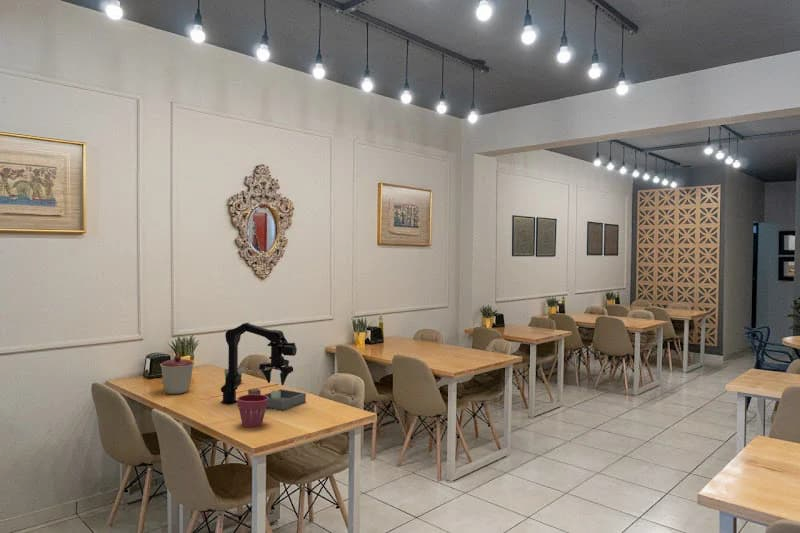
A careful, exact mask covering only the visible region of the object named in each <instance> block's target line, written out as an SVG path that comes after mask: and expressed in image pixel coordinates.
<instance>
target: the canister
mask: <svg viewBox="0 0 800 533" xmlns="http://www.w3.org/2000/svg"><path fill="white" fill-rule="evenodd" d="M181 358H182V357H181V356H180V355H176V356H174V359H169V360H165V361H163V362H162V363H160V364H159V366H160V367H161V374H162V385H163V390H164V392H165V393H166V394H169V395H179V394H180V395H181V394H185V393H187V392H188V391H189V390H190V388H191V382H192V377H193V376H192V374H193V368H194V365H195V362H194V361H192V360H190V359H185V358H184V359H183V358H182V359H181Z"/></svg>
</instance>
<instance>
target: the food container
mask: <svg viewBox="0 0 800 533" xmlns="http://www.w3.org/2000/svg"><path fill="white" fill-rule="evenodd" d="M243 371H244V369H243V367H242V366H241V365H240V366H239V367H238V373H239V375H240V374H241V375H242V372H243ZM223 373H224V378H225V381H226V377H227V374H228V368H224V370H223Z"/></svg>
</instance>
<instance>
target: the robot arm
mask: <svg viewBox="0 0 800 533" xmlns="http://www.w3.org/2000/svg"><path fill="white" fill-rule="evenodd" d="M245 332H248V333H251V334H254V335H257V336H259V337H260V336H261V337H263V338H265V339H267V340H268V341H269V343H268V344H267V347H270V356H269V357H268V358H269V360H270V362H262V363H259V366H258V367H259V368H258V370H260V371H261V372H262V374H263V375H264V377H265V379H266V381H267V383H268V384H270V383H271V372H272V371H273V370H277V371H280V373H279V375H280V376H279V377H280V383H281V386H284V385H285V382H286V379H287V377H288V375H289V374H291V373H293V372H294V367H293V366H292V365H289V364H290V360H287V359H285V356H287V357H288V356H292V357H295V356H296V354H297V349H298V348H297V345H296V342H288V340H287V338H285V334H284V332H283V331H282V330H279V329H278V330H277V329H268V328H265V327H261V326H258V325H255V324H251V323H249V322H245V323H241V325H238V326H236V327H235V328H231V329H228V330H227V331H226V332H225V334H224V335H225V341H226V343H227V346H228V361H227V362H228V368H227V369H228V374H227V377H226V380H225V382H224V385H222V386H221V387H220V392H221V393H222V400H221V401H220V404H221V403H222V404H226V405H230V404H234V403H237V390H238V389H239V387H240V385H241V383H242V382H243V381H242V380H243V379H242V376H243V375H242V374H240V375H239V373H238V368H239V366H238V363H239V361H238V358H239V357H238V355H239V353H238V352H239V350H238V349H239V347H238V346H239V343H240V342H241V336H242V335H243V334H245Z"/></svg>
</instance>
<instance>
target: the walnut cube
mask: <svg viewBox="0 0 800 533" xmlns="http://www.w3.org/2000/svg"><path fill="white" fill-rule="evenodd" d="M247 392H248V393H247V395H250V394H259V395H261V392H262V391H261V389H259V388H257V387H256V388H251V389H250V388H249V389H248V390H247Z"/></svg>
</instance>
